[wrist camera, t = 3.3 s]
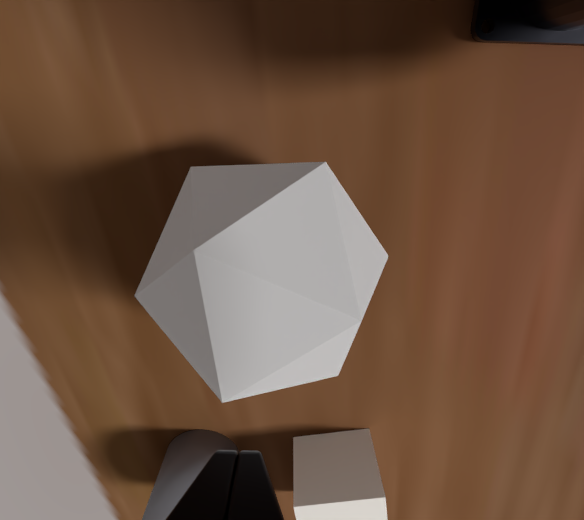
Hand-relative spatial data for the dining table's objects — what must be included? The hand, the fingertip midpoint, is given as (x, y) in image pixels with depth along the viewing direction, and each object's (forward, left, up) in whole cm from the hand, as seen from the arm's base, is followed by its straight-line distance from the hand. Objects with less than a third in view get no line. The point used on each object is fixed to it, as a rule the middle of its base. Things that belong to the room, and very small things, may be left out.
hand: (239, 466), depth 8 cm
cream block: (-4, +14, -13) cm, 19 cm away
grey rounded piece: (+4, +14, -13) cm, 19 cm away
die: (0, 0, -13) cm, 13 cm away
